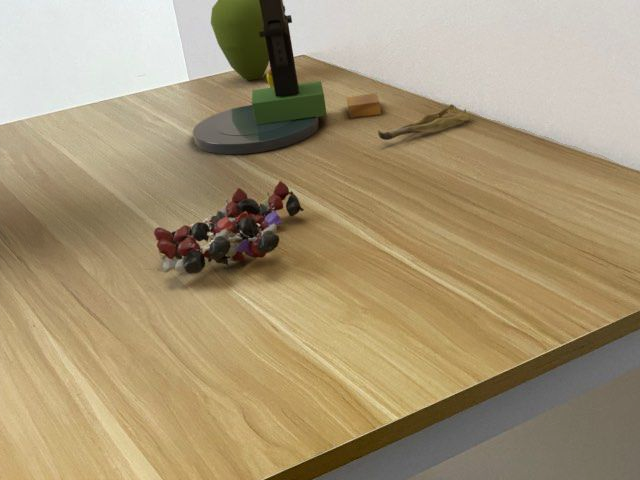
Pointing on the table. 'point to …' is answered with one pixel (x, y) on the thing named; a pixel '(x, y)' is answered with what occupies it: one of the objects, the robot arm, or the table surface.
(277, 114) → the sponge brush
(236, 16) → the green mango
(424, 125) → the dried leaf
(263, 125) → the plate
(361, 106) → the orange flat block
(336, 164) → the table surface
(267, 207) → the dark lumpy cluster
